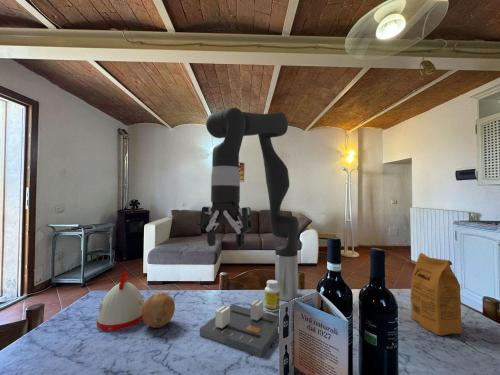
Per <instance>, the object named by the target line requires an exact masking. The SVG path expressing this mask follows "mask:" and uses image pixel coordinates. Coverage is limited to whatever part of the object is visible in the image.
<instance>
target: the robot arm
mask: <svg viewBox="0 0 500 375" xmlns="http://www.w3.org/2000/svg"><path fill="white" fill-rule="evenodd" d="M288 125H289V124H288V118H287V116H286V114H285V113H284V112H283V111H272V112H267V113H257V112H249V111H248V112H247V111H242V110H241V109H240V108H237V107H229V108H226V109H222V110H219V111H214V112H212V113H210V114H209V115H208V117H207V118H206V122H205V126H206V130H207V132H208V133H209V134H210V135H211V136H212V137H213V138H215V139H223V141H222V142H221V143H219V144H217V145H215V146H214V147H213V149H212V158H211V159H212V160H211V161H212V162H211V164H212V166H211V167H212V168H211V176H210V178H211V180H210V188H211V189H210V202H211V203H212V204H211V206H202V207H201V215H200V217H201V218H200V229H202V230H203V229H204V230H205V231H206V233H207V237H206V239H207V240H206V243H207V244H208V247H214V246H216V231H215V230H216V229H217V227H218V226H219V225H220V224H225V225H230V226H231V227H232V228H233V229H234V231H235V232H236V233H235V249H236V250H241V249H243V247H244V245H245V235H246V234H245V233H247V232H250V231H252V228H253V227H252V211H251V207H249V206H245V207H240V201H241V200H240V198H241V195H240V194H241V191H240V190H241V189H240V188H241V176H240V150H241V147H242V142H243V140H244V137H247V136H248V137H249V136H256V135H258V140H259V144H260V149H261V153H262V158H263V166H264V173H265V182H266V187H267V193H268V201H269V213H270V215H269V216H270V227H271V229H270V230H271V232H272V235H273V236H274V237H276V238H282V239H287V242H286V243H284V244H281V245H279V246H275V248H274V249H275V251H274V253H275V254H274V258H275V261H274V262H275V264H274V265H275V267H274V270H275V273H274V276H275V277H274V278H275V279H274V280H276V281H277V282H278V286H277V287H278V288H279V291H280V297H279V301H280V300H281V301H285V302H287V301H288V302H292V301H291V300H293V299H295V298H297V299H298V297H299V286H298V284H299V282H298V279H299V277H298V275H299V274H298V273H299V271H298V269H299V265H298V264H299V263H298V262H299V261H298V258H299V256H298V254H299V253H298V252H299V251H298V250H299V231H300V230H299V228H300V227H299V220H298V218H297V217H296V216H295V215H294V216H293V215H282V214H281V205H282V203H283V201H284V198H285V197H286V195H287V193H288V190H289V189H290V188H289V187H290V177H289V169H288V167H287V166H286V164H285V163H284V161H283V159H281V157H280V156H279V155H278V154H277V152H276V150H275V148H274V146H273V143H272V140H271V138H278V137H281V136H284V135H285V134H286V133H287V131H288V129H289V127H288ZM211 215H212V216H211ZM239 215H241V216H242V217H241V219H242V221H241V219H240V218H239ZM293 301H294V300H293Z"/></svg>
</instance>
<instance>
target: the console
mask: <svg viewBox="0 0 500 375" xmlns="http://www.w3.org/2000/svg"><path fill="white" fill-rule="evenodd" d="M229 307H230V322H229V323H228V324H227V325H226V326H225V327H223V328H219V327H216V326H215V317H213V318H212V319H210V320H209V321H208V322H206V323H205V324H203V325H202V326H201V327H200V328H199V336H200V337H203V338H206V339H209V340H212V341H214V342H217V343H220V344H223V345H225V346H229V347H230V348H233V349H237V350H240V351H242V352H246V353H248V354H251V355H252V356H253V355H254V356H257V357H260V358H262V357H263V356H264V355H265V354H266V352H267V351H268V349H269V348H270V347H271V345H272V344H273V342H274V341H275V339H276V338H277V337H278V336H279V334H278V327H279V316H280V315H275V314H272V313H267V312H265V311H263V316H262V317H261V318H260V319H259V320H254V319H251V308H247V307H244V306H240V305H236V304H232V305H230V306H229Z"/></svg>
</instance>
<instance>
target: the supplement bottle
mask: <svg viewBox="0 0 500 375" xmlns="http://www.w3.org/2000/svg"><path fill="white" fill-rule="evenodd" d="M277 286H278V282H277V281H276V280H275V279H269V280H267V281H266V287H264V309H265V311H268V312H270V313H271V312H272V313H275V312H278V311H280V299H279V297H280V291H279V288H278V287H277Z"/></svg>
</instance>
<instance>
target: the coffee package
mask: <svg viewBox="0 0 500 375" xmlns="http://www.w3.org/2000/svg"><path fill="white" fill-rule="evenodd" d="M452 265H453V263H452V261H451V260H450V259H449V260H448V259H441V258H434V257H430V256H428V255H426V254H425V253H423V252H420V253H419V254H418V258H417V260H416V262H415V267H414V269H413V273H412V277H411V287H410V303H411V304H410V305H411V307H410V308H411V320H413V321H414V322H417V323H419V325H420V326H421V327H422V328H423V329H425V330H427V331H429V332H431V333H433V334H435V335H438V336H445V335H450V334H454V335H455V334H460V333H463V327H462V308H461V306H462V305H461V304H462V299H461V298H462V297H461V284H460V283H459V281H458V279H457V276H456V275H455V273H454V271H453V270H452V267H451V266H452Z"/></svg>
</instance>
